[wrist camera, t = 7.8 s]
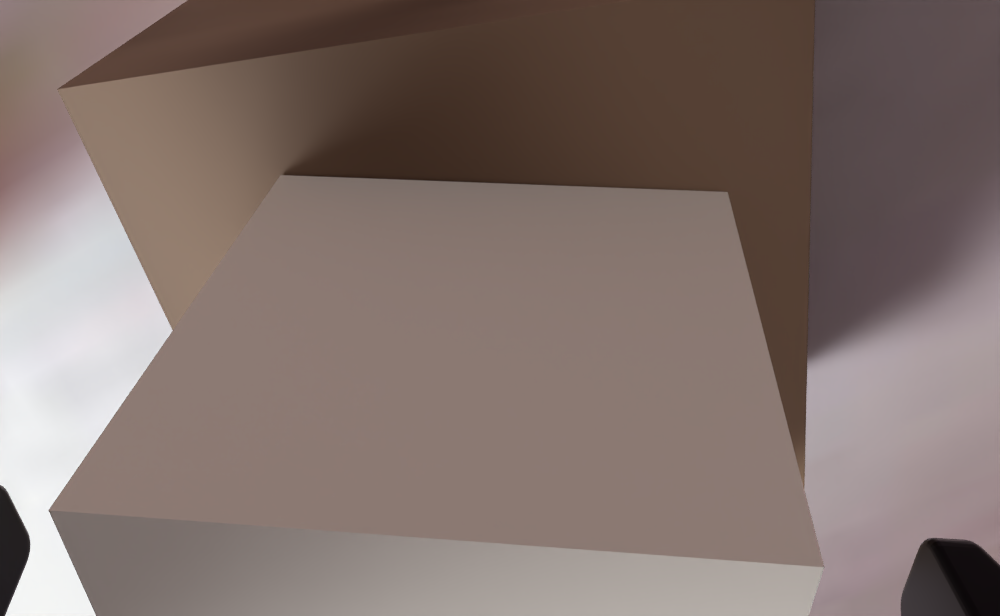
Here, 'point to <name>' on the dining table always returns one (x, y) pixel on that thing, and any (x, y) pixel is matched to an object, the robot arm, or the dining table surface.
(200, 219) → the tan flat block
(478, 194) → the white cube
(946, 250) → the dining table surface
